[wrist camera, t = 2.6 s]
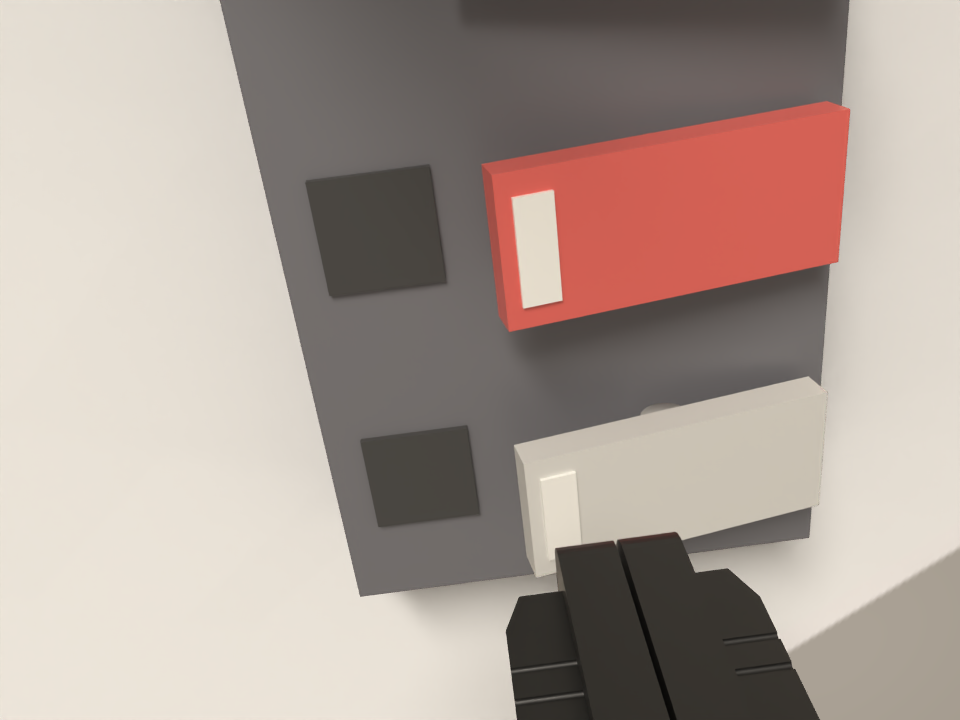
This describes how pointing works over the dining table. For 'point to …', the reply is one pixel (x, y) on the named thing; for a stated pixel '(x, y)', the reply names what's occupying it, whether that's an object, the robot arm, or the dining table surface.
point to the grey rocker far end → (674, 470)
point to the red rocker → (665, 213)
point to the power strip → (467, 250)
